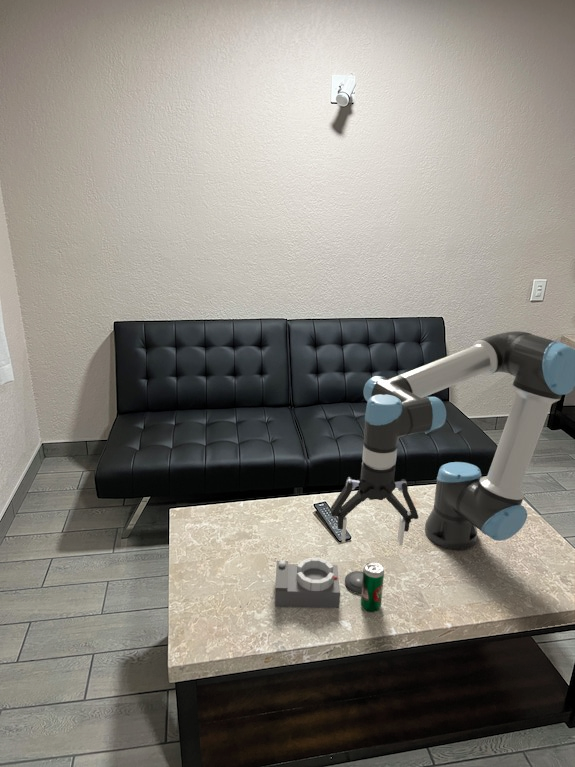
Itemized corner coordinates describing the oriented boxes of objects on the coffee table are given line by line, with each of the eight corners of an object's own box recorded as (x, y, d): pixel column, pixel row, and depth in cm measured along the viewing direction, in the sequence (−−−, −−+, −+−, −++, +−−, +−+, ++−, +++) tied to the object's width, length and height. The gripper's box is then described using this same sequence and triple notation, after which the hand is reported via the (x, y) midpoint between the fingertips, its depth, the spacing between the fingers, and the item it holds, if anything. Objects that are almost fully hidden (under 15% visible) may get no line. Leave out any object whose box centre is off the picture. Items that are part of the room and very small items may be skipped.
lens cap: (371, 573, 146) (371, 570, 145) (375, 594, 139) (375, 590, 138) (343, 573, 146) (343, 569, 145) (346, 593, 139) (346, 590, 138)
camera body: (336, 580, 143) (337, 557, 141) (339, 608, 134) (340, 584, 131) (276, 578, 143) (276, 556, 141) (275, 606, 134) (275, 583, 131)
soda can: (358, 599, 137) (361, 561, 133) (378, 598, 137) (381, 560, 133) (362, 614, 132) (366, 575, 128) (383, 613, 133) (386, 574, 128)
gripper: (430, 456, 124) (420, 532, 131) (322, 452, 125) (319, 528, 132) (438, 472, 117) (427, 552, 124) (323, 468, 118) (319, 548, 125)
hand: (371, 540), depth 128 cm, fingers open, 13 cm apart
